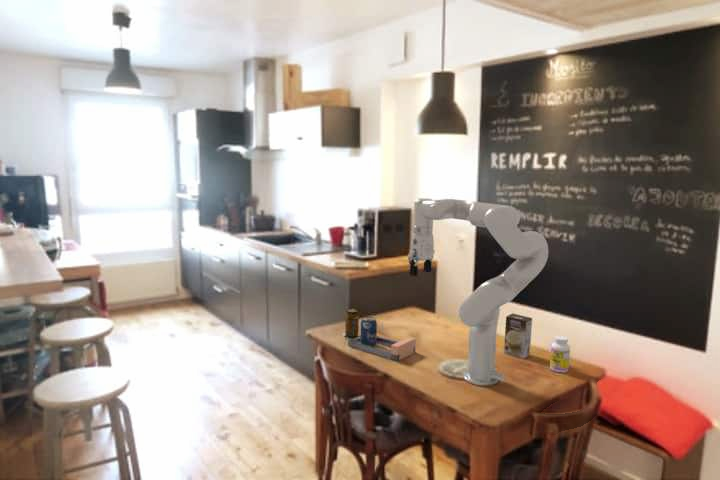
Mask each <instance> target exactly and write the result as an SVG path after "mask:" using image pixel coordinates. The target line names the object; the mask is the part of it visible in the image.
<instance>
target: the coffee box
mask: <svg viewBox="0 0 720 480" xmlns="http://www.w3.org/2000/svg"><path fill="white" fill-rule="evenodd" d="M532 325H533V317H529V316H525V315H520V314H516V313H510V314H509V315H507V316H506V317H505V328H504V329H505V331H504V344H503V345H504V346H503V347H504V348H503V354H507V355H510V356H512V357H516V358H520V359H526V358H527V357H528V356H530V354H531V343H532V342H531V341H532Z"/></svg>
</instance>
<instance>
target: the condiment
mask: <svg viewBox="0 0 720 480" xmlns="http://www.w3.org/2000/svg"><path fill="white" fill-rule="evenodd" d="M358 311H359V310H357V309H355V308H352V309H351V308H350V309H347V310H346V312H345V319H344V320H345V324H344V325H345V328H344V329H345V330H344V333H342V336H343V337H344V339H345V340H361V335H360V334H359V330H360V329H359V312H358ZM347 337H348V338H347Z"/></svg>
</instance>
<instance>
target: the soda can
mask: <svg viewBox="0 0 720 480" xmlns="http://www.w3.org/2000/svg"><path fill="white" fill-rule="evenodd" d="M377 328H378V322H377V320H376V318H375V317H373V316H365V317H362V318H361V322H360V337H361V339H360V343H364V344H367V345H370V346H374V347H376V344H377V343H376V342H377V336H378V334H377V332H378V331H377V330H378V329H377Z"/></svg>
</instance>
